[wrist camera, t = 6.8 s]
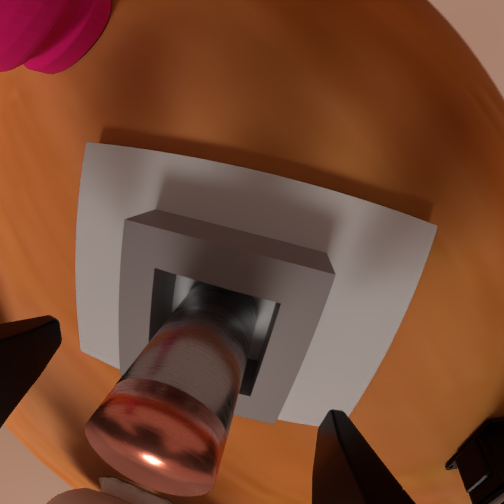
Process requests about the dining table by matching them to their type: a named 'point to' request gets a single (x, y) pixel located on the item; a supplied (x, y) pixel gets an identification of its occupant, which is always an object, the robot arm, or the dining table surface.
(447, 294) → the dining table surface
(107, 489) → the ceramic pitcher
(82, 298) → the grey plate with socket
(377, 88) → the dining table surface
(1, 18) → the pepper mill
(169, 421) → the pin
